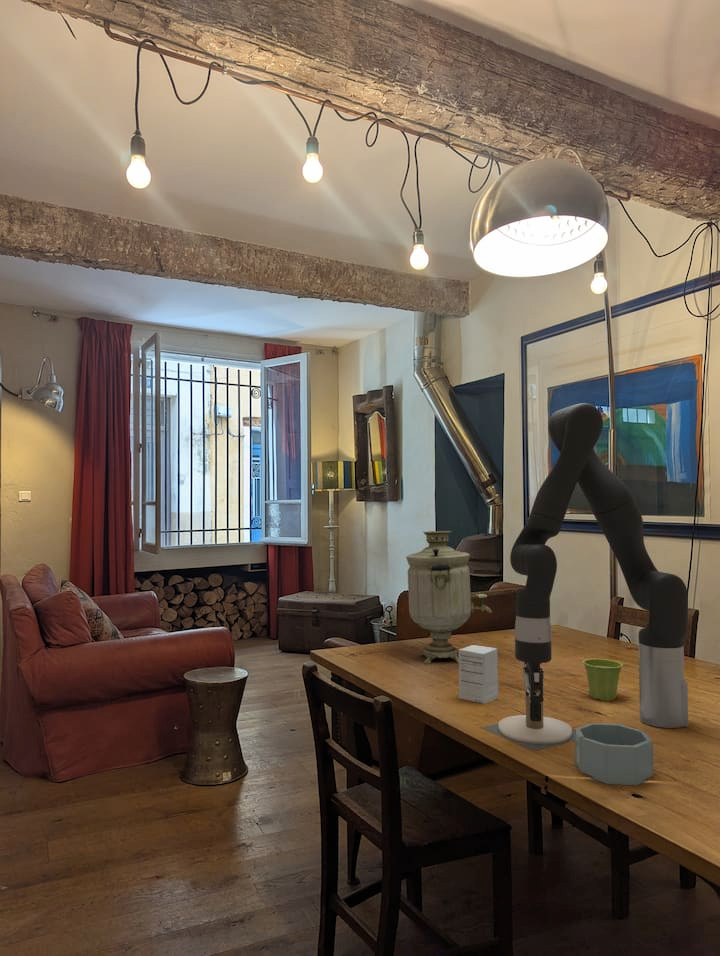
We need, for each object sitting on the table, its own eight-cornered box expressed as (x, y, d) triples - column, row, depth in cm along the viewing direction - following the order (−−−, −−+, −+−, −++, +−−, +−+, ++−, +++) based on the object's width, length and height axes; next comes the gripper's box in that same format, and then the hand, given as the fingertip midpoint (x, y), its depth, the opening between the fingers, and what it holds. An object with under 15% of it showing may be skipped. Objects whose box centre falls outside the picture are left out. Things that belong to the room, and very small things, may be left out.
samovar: (483, 674, 193) (482, 534, 194) (395, 667, 201) (394, 533, 203) (497, 652, 221) (496, 530, 223) (419, 647, 229) (418, 529, 231)
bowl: (640, 759, 129) (639, 724, 129) (659, 786, 116) (659, 748, 117) (571, 755, 131) (571, 721, 131) (583, 782, 118) (583, 745, 119)
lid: (565, 722, 150) (565, 689, 150) (577, 746, 135) (577, 709, 135) (496, 719, 152) (496, 686, 152) (500, 742, 137) (500, 706, 137)
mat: (535, 717, 154) (535, 715, 154) (591, 738, 140) (591, 736, 140) (480, 729, 146) (480, 727, 146) (534, 753, 132) (533, 750, 132)
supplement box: (473, 693, 174) (472, 644, 174) (499, 699, 169) (498, 648, 169) (458, 700, 168) (457, 649, 168) (484, 706, 163) (484, 653, 164)
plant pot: (610, 691, 175) (609, 657, 176) (630, 702, 166) (630, 666, 166) (576, 693, 174) (576, 659, 174) (595, 704, 165) (595, 668, 165)
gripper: (555, 645, 136) (556, 726, 136) (547, 631, 150) (547, 705, 150) (517, 643, 137) (518, 724, 137) (512, 630, 152) (512, 704, 151)
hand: (533, 714), depth 143 cm, fingers open, 8 cm apart
